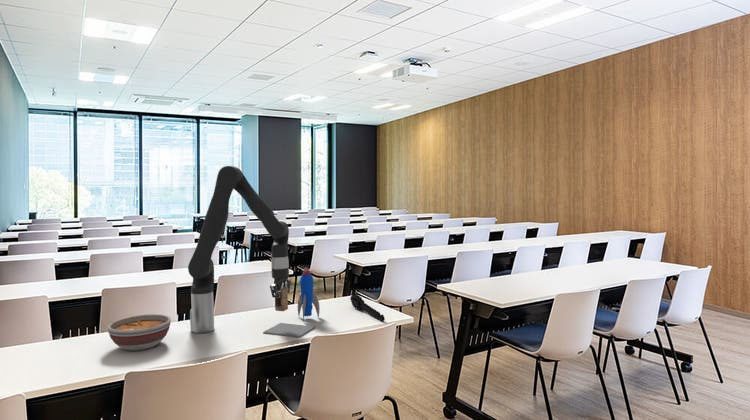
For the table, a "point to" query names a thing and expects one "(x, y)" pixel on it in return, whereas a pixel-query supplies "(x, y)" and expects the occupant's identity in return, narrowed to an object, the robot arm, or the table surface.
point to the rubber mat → (289, 330)
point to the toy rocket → (307, 295)
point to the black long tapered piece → (365, 307)
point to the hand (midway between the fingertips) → (281, 304)
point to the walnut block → (282, 300)
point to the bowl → (139, 331)
